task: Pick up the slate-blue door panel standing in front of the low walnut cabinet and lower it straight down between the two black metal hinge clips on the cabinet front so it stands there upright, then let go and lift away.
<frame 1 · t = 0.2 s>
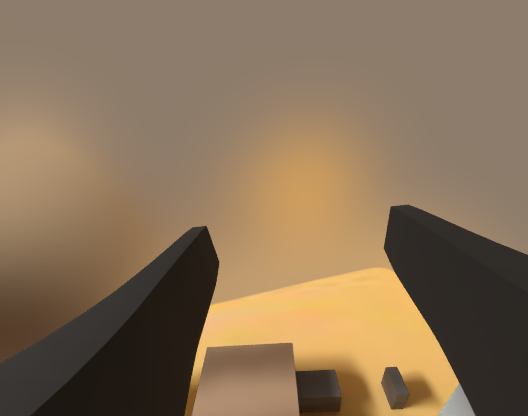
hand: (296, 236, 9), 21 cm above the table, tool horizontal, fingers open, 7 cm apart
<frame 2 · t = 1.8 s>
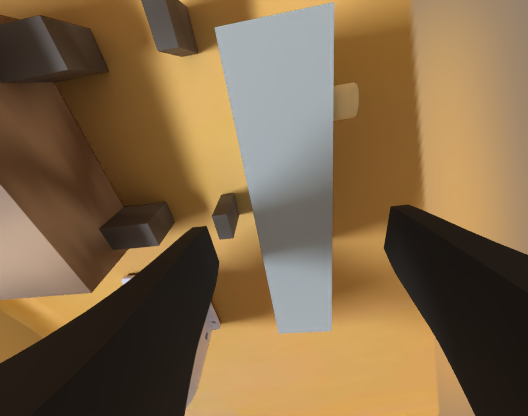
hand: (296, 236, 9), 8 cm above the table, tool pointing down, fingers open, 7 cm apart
cabinet: (172, 141, 15), on the table
door panel: (285, 167, 16), on the table
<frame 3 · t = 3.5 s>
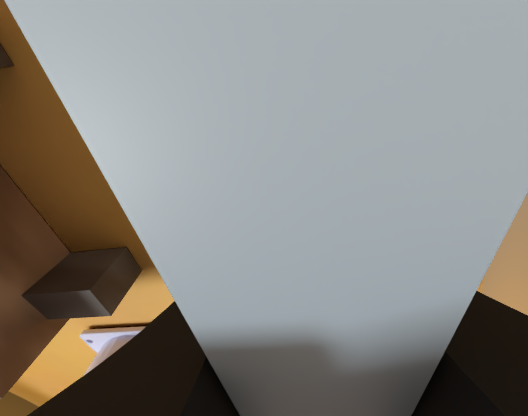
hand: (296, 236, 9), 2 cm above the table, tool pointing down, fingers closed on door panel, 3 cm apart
cabinet: (126, 170, 10), on the table
door panel: (291, 206, 11), on the table, touching gripper
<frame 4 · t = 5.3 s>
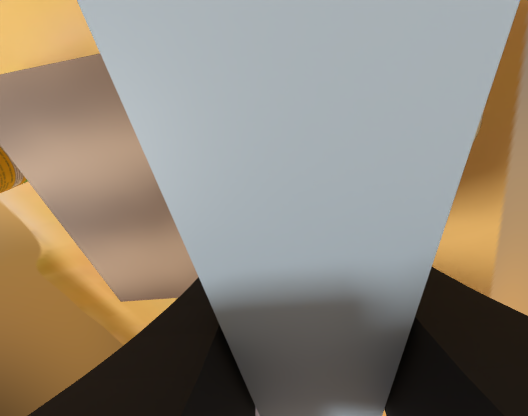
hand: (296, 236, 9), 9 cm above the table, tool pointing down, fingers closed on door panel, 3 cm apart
supplement bottle: (7, 149, 17), on the table
cabinet: (285, 160, 17), on the table
door panel: (290, 199, 11), point 6 cm above the table, touching gripper
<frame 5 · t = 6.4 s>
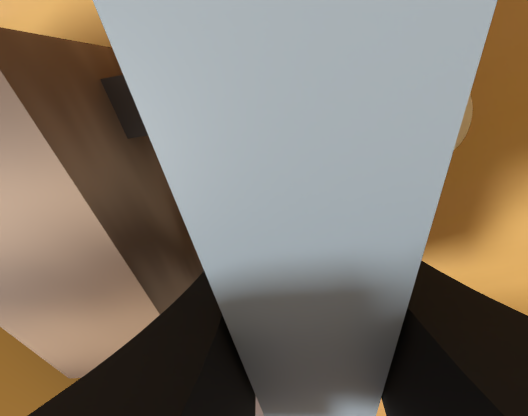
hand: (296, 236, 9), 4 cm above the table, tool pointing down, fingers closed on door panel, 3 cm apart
cabinet: (289, 189, 13), on the table
door panel: (290, 198, 12), point 1 cm above the table, touching gripper
when the fingers open (4 cm above the table, at t = 7.3 s): door panel stays where it is, on the table.
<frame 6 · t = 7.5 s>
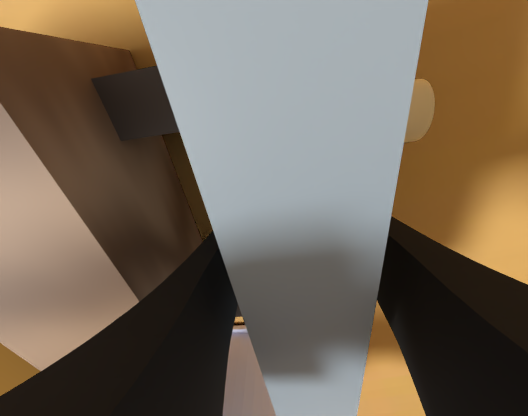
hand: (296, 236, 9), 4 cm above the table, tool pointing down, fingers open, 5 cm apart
cabinet: (290, 192, 12), on the table
door panel: (289, 190, 12), on the table
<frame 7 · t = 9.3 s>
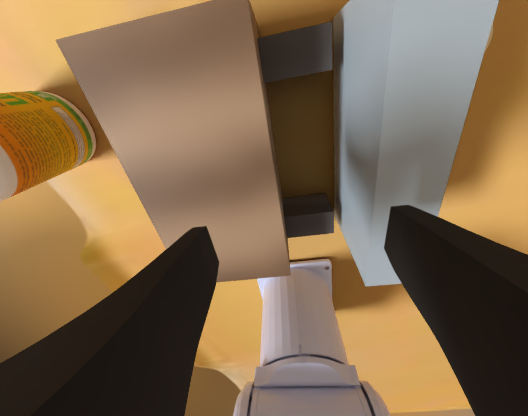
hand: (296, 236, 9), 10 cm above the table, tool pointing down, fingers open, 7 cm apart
supplement bottle: (64, 129, 17), on the table
cabinet: (355, 135, 16), on the table
door panel: (354, 133, 16), on the table
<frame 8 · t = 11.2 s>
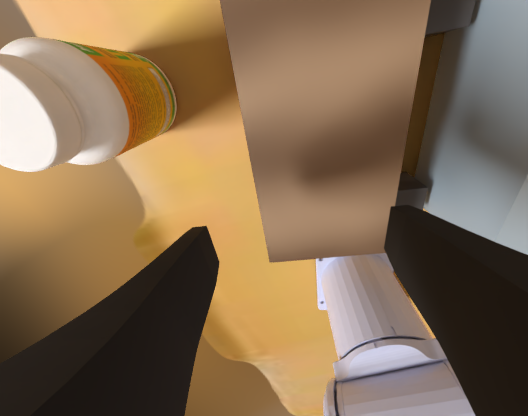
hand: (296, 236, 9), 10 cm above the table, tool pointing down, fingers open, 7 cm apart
supplement bottle: (143, 97, 16), on the table
cabinet: (451, 108, 15), on the table
door panel: (450, 107, 16), on the table
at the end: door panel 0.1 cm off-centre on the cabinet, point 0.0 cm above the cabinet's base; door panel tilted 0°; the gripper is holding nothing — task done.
